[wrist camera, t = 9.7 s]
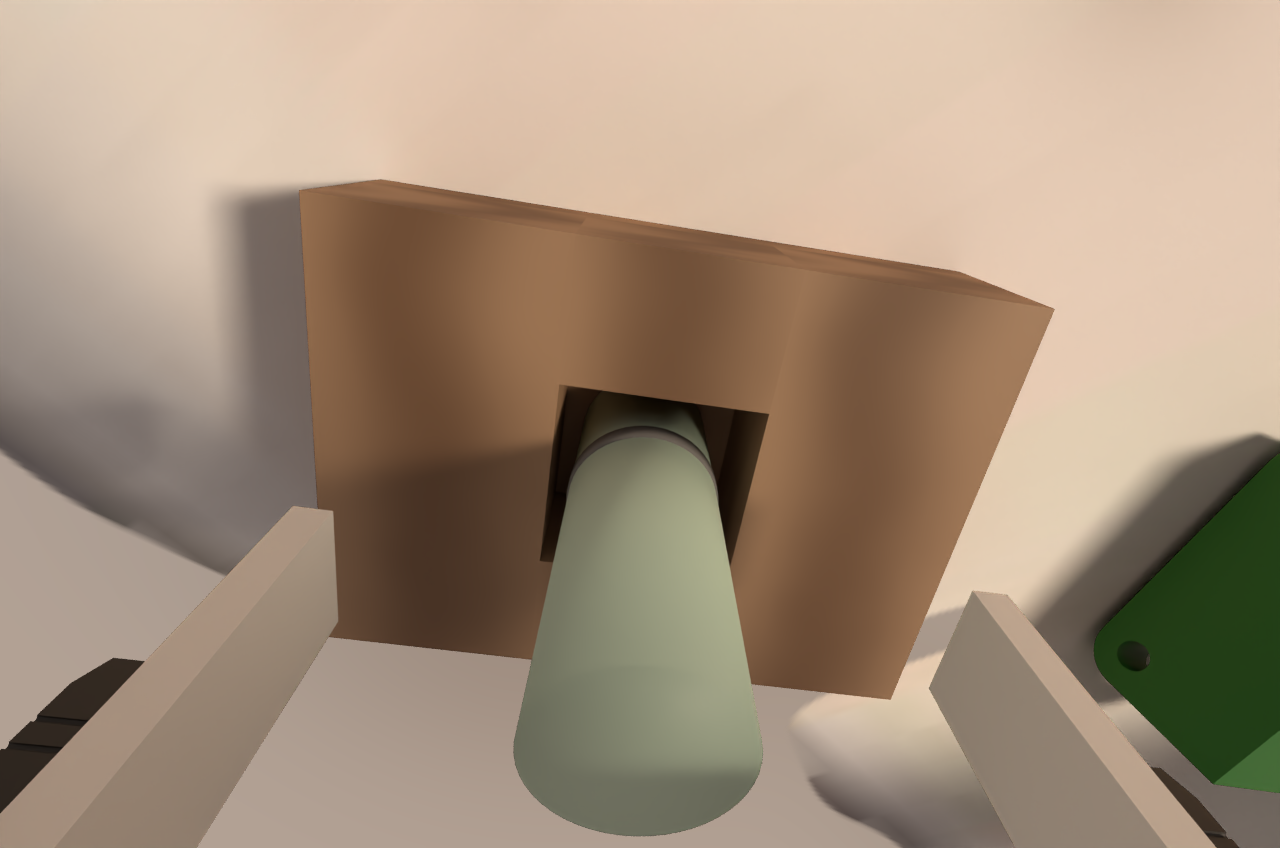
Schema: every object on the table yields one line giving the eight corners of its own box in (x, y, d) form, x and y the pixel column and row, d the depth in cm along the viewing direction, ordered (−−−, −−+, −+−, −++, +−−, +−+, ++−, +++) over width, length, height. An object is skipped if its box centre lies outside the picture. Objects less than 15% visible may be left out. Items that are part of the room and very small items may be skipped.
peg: (717, 385, 20) (796, 682, 9) (691, 494, 22) (733, 849, 11) (590, 365, 20) (521, 646, 9) (574, 476, 22) (501, 823, 11)
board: (959, 271, 20) (1054, 309, 15) (844, 599, 25) (890, 699, 21) (380, 179, 19) (299, 190, 14) (384, 542, 24) (324, 636, 19)
